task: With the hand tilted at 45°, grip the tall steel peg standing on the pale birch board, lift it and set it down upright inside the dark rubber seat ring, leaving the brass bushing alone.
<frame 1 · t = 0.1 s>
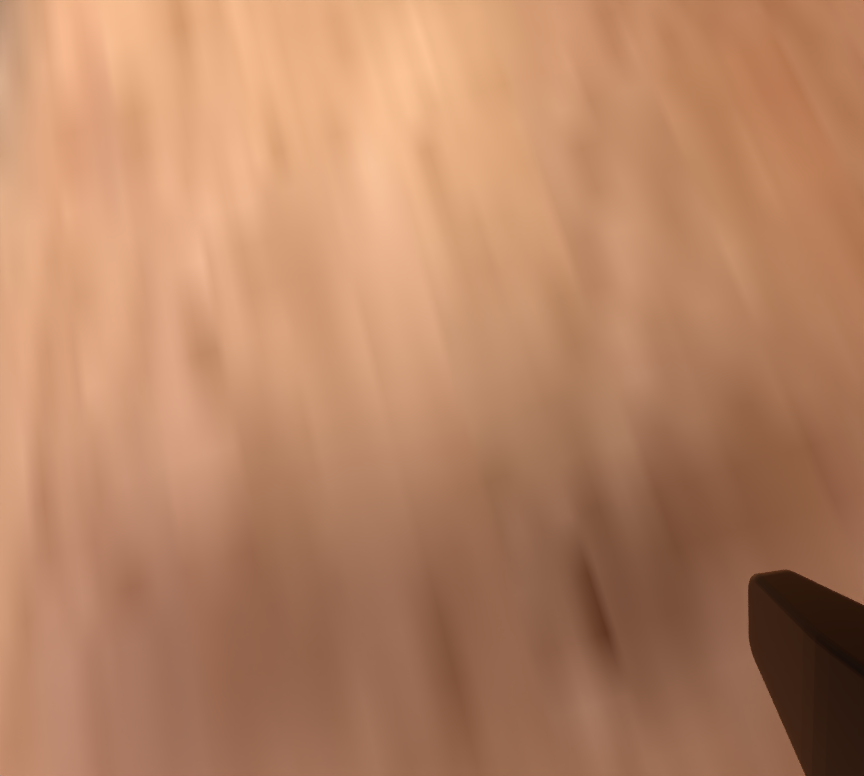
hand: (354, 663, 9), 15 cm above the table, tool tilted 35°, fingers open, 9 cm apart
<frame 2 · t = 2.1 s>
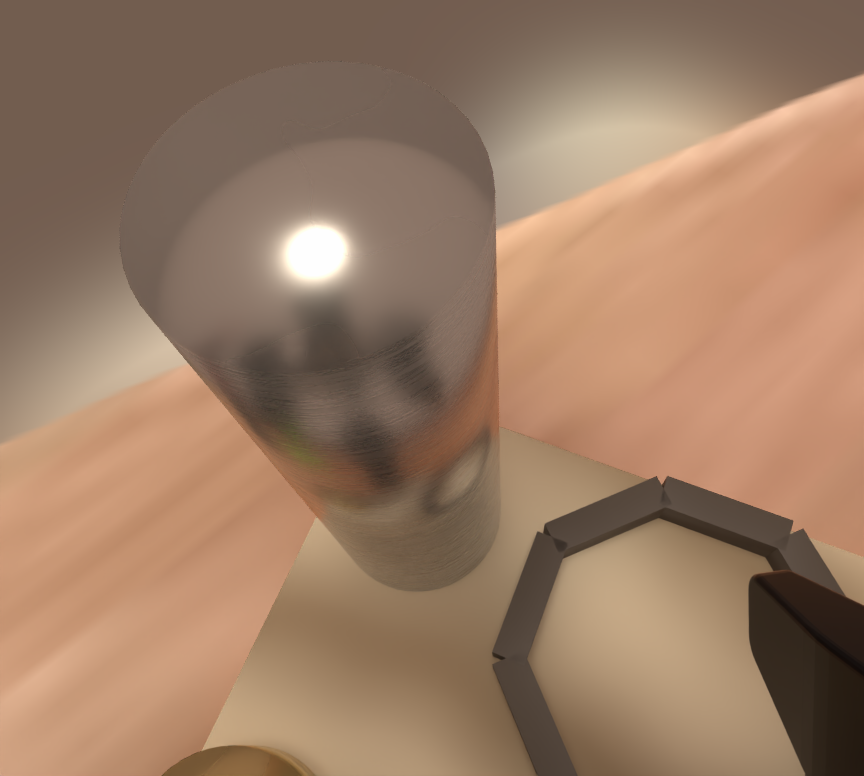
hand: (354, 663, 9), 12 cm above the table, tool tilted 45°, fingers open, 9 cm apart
steel peg: (418, 508, 21), point 1 cm above the table, touching birch board
birch board: (516, 750, 19), on the table
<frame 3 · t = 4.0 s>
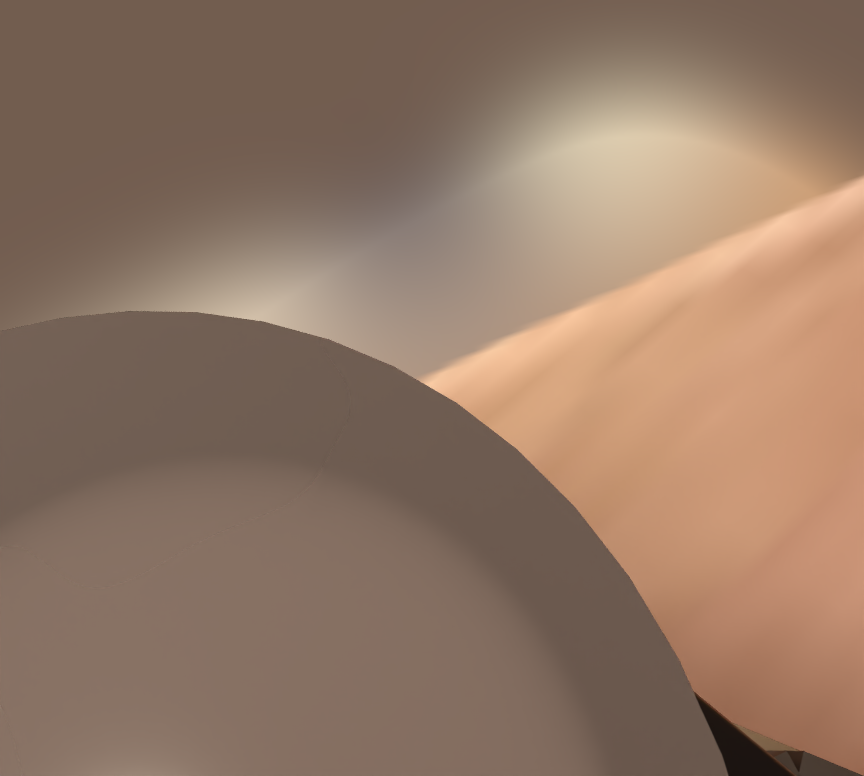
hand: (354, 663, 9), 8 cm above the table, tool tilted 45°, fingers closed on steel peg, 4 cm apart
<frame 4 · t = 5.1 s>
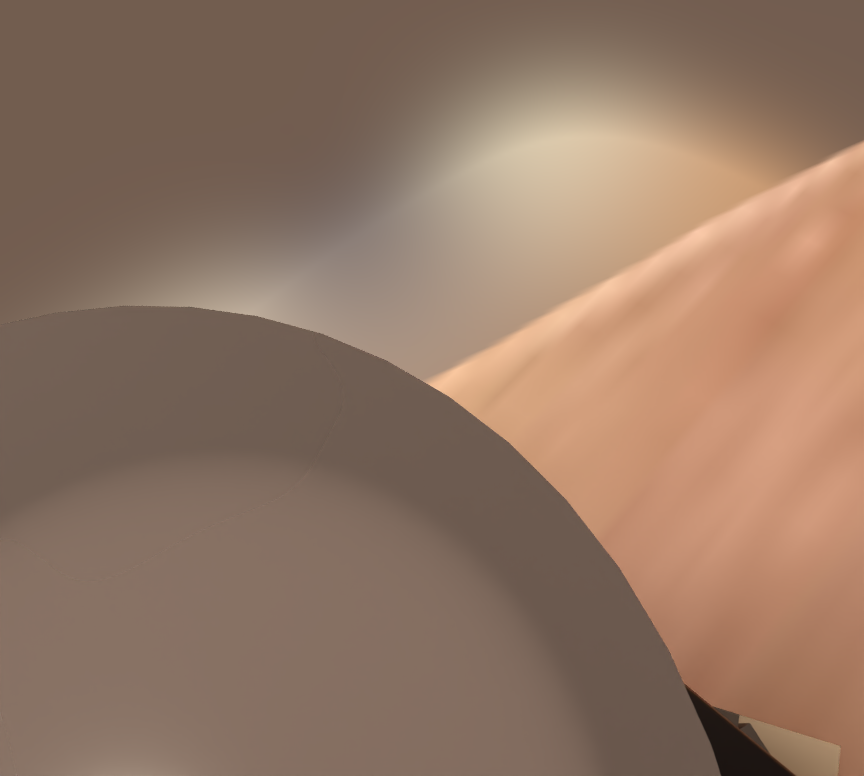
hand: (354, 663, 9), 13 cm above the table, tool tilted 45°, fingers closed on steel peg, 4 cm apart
steel peg: (423, 775, 14), point 7 cm above the table, touching gripper
when the fingers open (9 cm above the table, at t = 6.7 s): steel peg drops 1 cm, resting on birch board.
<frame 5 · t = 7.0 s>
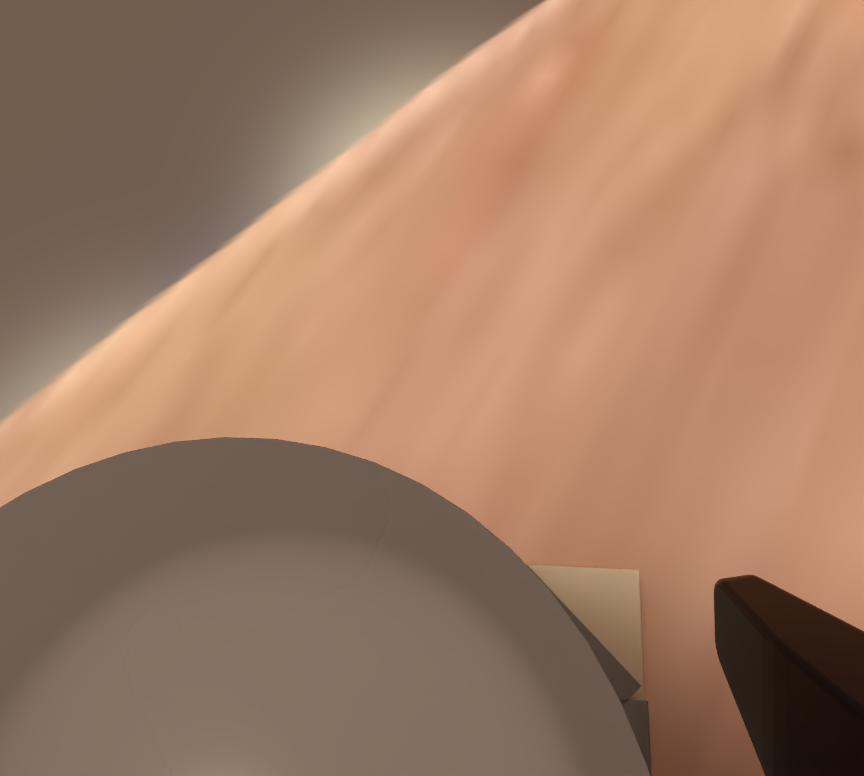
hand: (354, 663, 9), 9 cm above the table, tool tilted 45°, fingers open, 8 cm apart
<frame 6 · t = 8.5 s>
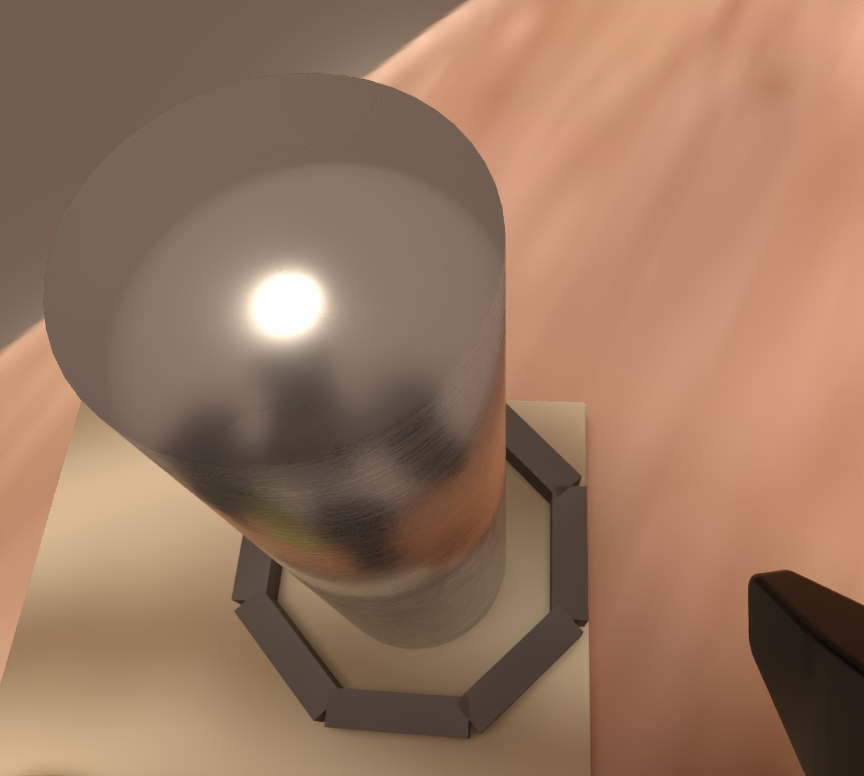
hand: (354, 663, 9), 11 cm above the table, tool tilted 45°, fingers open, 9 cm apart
steel peg: (416, 555, 19), point 1 cm above the table, touching birch board
birch board: (295, 689, 19), on the table
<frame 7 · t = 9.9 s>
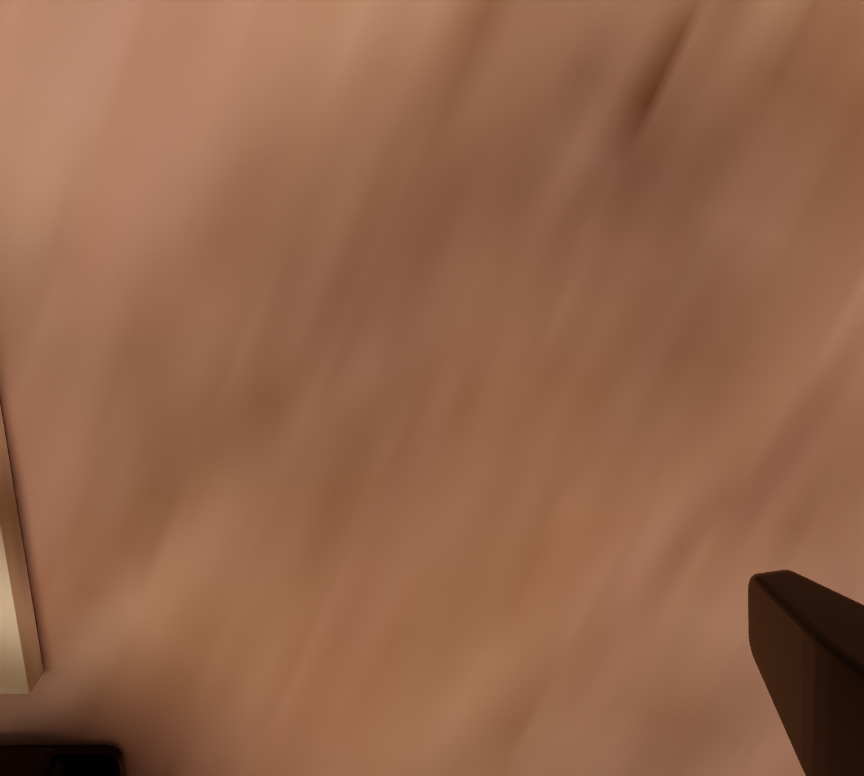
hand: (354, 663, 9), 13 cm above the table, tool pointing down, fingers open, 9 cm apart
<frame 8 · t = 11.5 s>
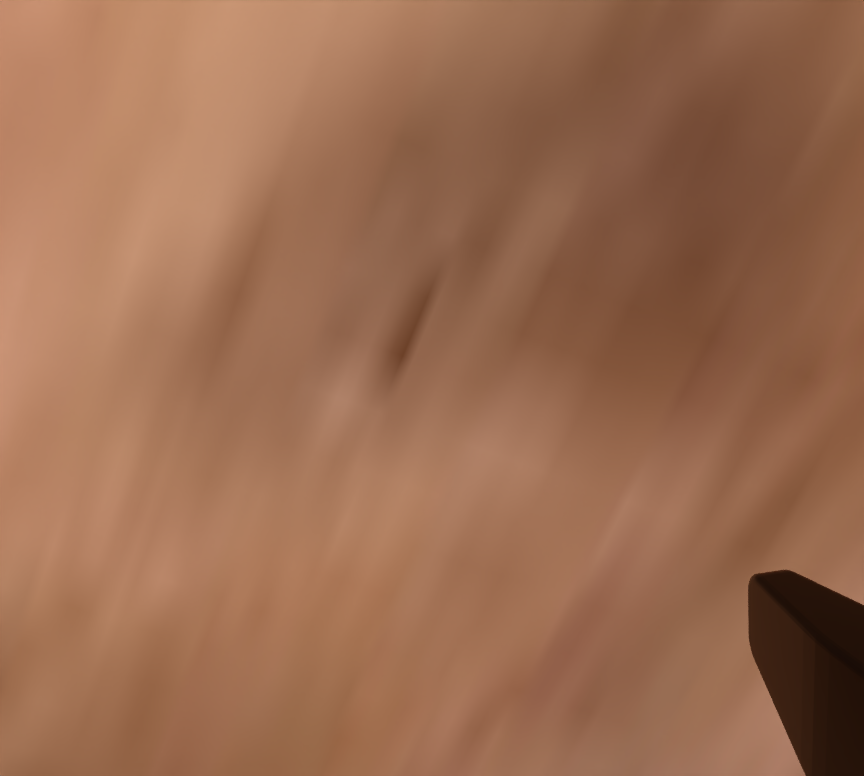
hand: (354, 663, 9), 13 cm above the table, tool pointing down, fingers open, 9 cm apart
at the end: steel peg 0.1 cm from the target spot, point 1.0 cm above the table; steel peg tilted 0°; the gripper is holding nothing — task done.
